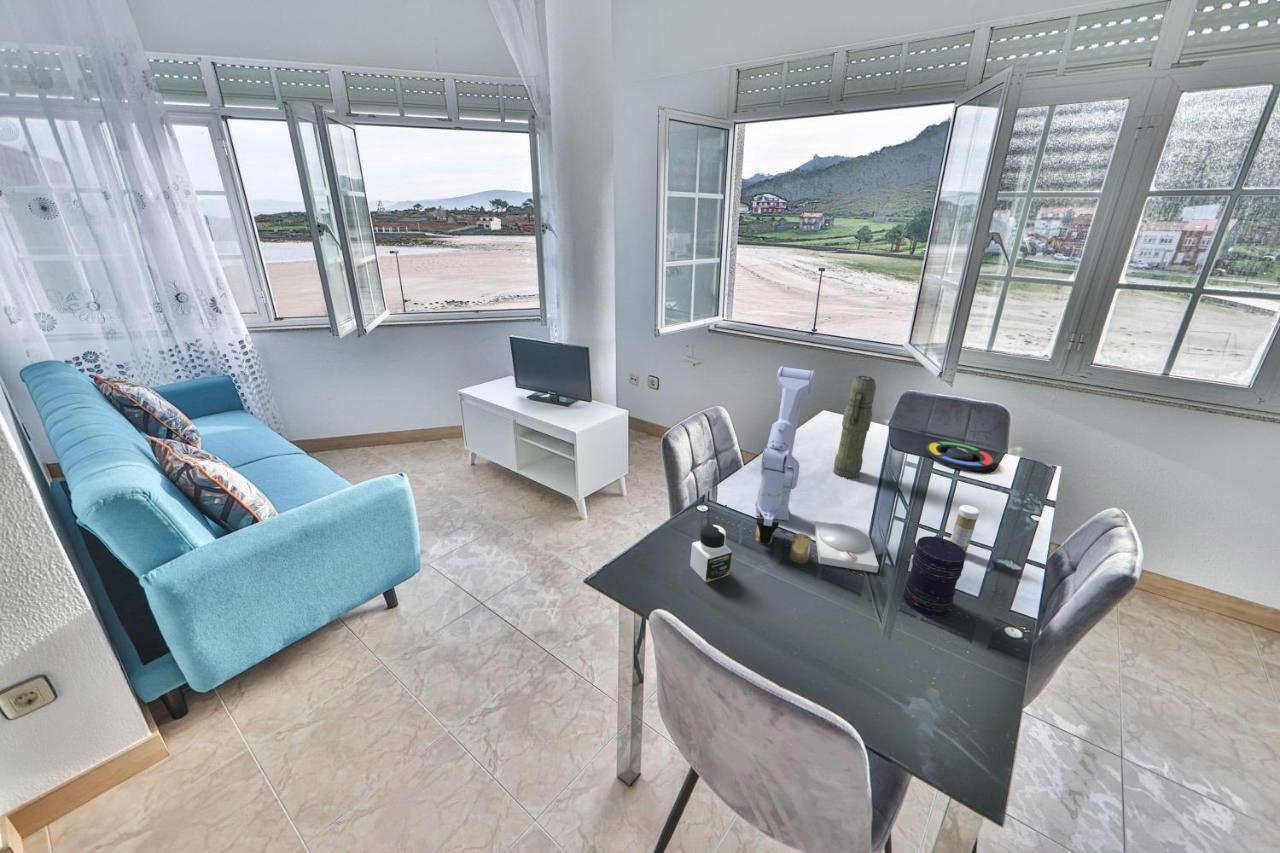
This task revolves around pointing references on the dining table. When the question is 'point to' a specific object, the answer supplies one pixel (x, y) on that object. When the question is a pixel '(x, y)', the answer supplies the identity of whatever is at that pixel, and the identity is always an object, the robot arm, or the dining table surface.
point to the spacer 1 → (759, 534)
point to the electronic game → (960, 456)
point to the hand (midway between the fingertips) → (764, 535)
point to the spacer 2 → (800, 548)
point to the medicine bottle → (711, 554)
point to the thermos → (855, 427)
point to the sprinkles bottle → (964, 526)
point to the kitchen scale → (845, 546)
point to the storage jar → (933, 576)
